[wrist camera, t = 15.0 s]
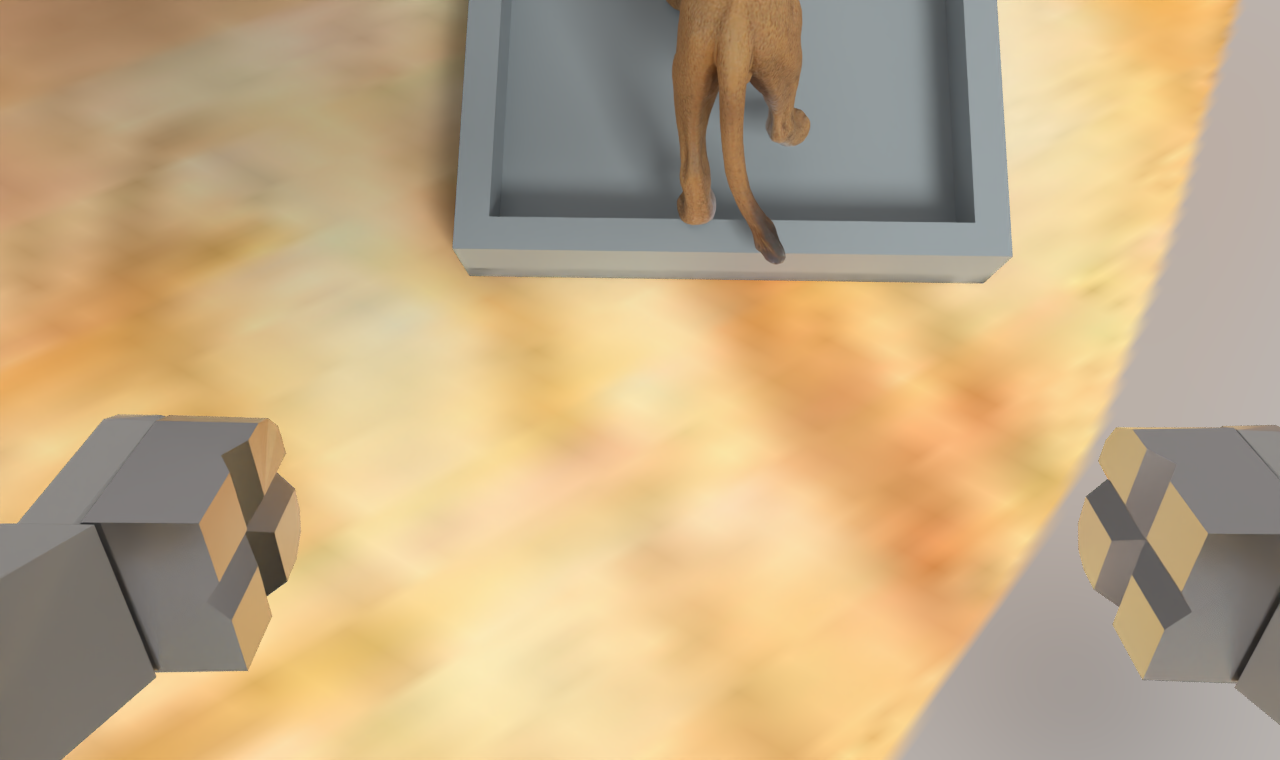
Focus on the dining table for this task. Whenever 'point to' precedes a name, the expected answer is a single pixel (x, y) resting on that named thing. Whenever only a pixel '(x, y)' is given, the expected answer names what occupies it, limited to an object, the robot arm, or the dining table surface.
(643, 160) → the grey tray
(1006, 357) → the dining table surface
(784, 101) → the lion figurine
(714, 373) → the dining table surface
